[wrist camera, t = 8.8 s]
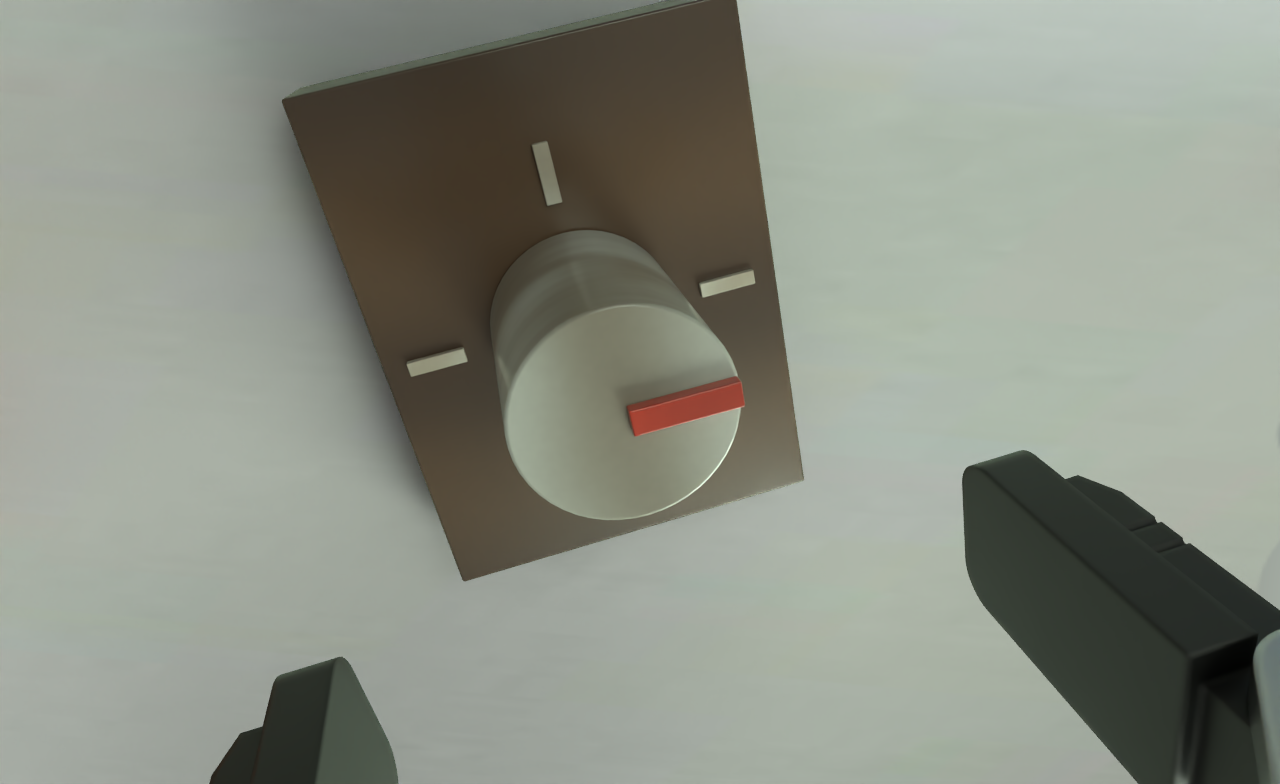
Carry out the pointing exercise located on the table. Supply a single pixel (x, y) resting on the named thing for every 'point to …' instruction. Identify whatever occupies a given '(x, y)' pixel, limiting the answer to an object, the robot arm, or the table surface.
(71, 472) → the table surface
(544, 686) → the table surface
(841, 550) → the table surface
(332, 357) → the table surface
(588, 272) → the dial
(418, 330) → the dial panel
